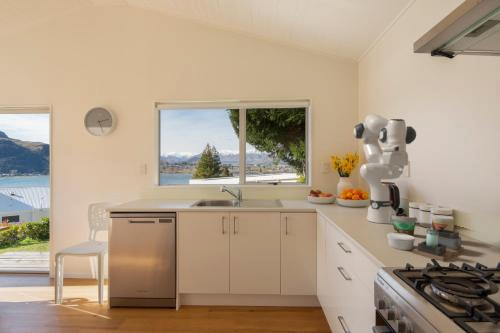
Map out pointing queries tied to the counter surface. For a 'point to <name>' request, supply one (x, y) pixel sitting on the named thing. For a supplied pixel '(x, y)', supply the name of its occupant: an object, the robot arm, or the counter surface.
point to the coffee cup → (442, 222)
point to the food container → (404, 225)
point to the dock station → (441, 246)
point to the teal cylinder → (432, 238)
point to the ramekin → (400, 241)
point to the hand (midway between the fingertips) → (395, 174)
